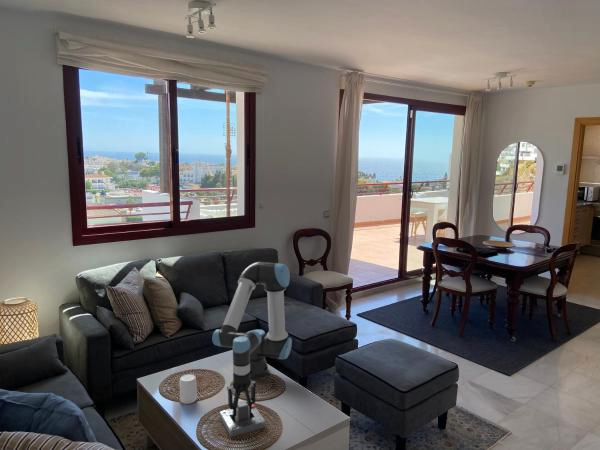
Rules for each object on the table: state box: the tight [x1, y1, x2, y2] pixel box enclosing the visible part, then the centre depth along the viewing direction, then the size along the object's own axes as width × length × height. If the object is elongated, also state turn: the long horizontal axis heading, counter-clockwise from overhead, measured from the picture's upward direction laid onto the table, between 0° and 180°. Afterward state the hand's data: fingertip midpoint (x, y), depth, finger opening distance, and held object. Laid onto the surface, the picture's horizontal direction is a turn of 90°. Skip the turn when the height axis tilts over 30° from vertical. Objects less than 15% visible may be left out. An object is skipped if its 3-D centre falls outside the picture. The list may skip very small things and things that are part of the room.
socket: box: [219, 403, 266, 438], centre depth 202 cm, size 16×16×4 cm
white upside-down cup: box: [178, 373, 198, 405], centre depth 218 cm, size 8×8×12 cm
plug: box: [237, 400, 249, 422], centre depth 201 cm, size 4×4×8 cm
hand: (242, 419), depth 202 cm, fingers closed on plug, 4 cm apart
